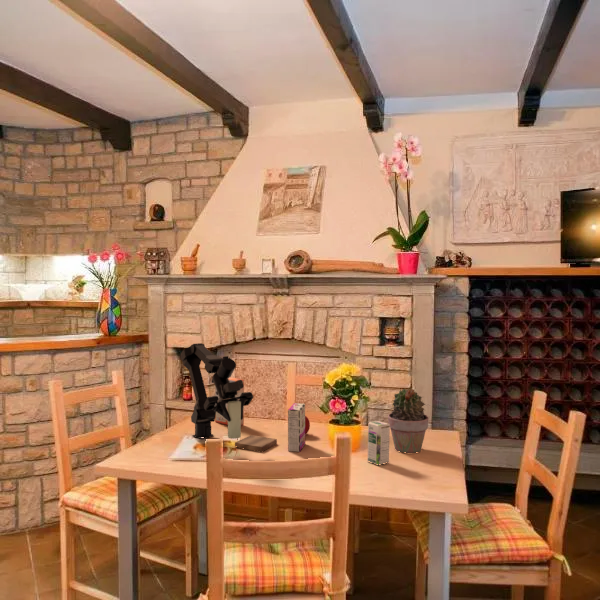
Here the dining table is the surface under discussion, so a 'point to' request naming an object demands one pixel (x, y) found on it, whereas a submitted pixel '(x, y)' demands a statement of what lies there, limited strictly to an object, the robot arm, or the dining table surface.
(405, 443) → the potted plant
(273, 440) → the brown flat square slab
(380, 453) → the syrup box
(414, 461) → the dining table surface
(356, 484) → the dining table surface
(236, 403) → the green blank
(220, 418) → the cracker box
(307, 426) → the apple
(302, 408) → the candy bar box
